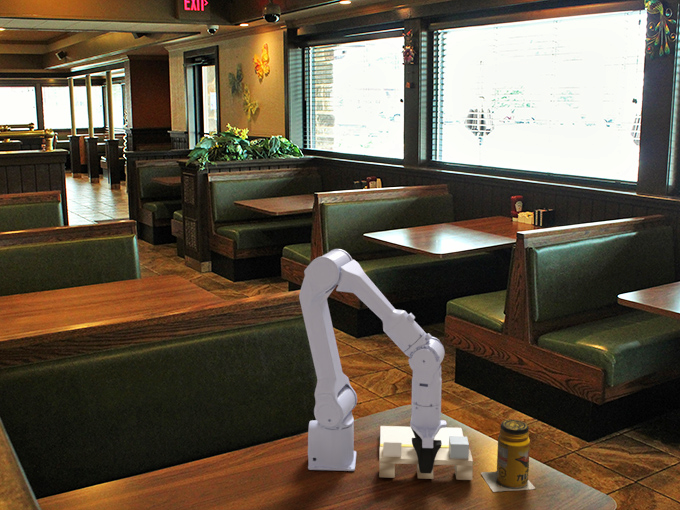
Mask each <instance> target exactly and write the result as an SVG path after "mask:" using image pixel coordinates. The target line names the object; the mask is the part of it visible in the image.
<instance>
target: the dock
mask: <svg viewBox="0 0 680 510" xmlns="http://www.w3.org/2000/svg"><path fill="white" fill-rule="evenodd" d="M379 431H380V434H379V448H380V447H383V441H384V434H387V435H401V447H413V445H412V438H415V436H414V433H413V431H412V429H411V426H403V425H402V426H401V425H400V426H399V425H396V426H395V425H380V430H379ZM463 433H464V432H463V429H462V427H449V426H447V427H446V428H441V429H440V430H439V432H438V433H437V434H436V436H435V438H434V440H441V443H442V445H441V448H449V436H464V434H463Z"/></svg>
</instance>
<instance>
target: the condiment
mask: <svg viewBox="0 0 680 510" xmlns="http://www.w3.org/2000/svg"><path fill="white" fill-rule="evenodd" d="M529 430H530V428H529V426H528V424H527V423H526V422H525V421H523V420H518V419H505V420H503V421H502V422H501V423H500V429H499V434H498V437H497V455H496V457H497V458H496V471H483V472H480V475H481V476H482V477H483V479H484V481H485V482H486V484H487V486H488V487H489V488H490V490H492V492H493V493H499V492H505V491H506V492H508V491H511V492H513V491H516V492H517V491H527V490H535V489H536V487H535V486H534V485H533V483H532V482H531V481H530V480H529V471H530V469H529V468H530V467H529V466H530V450H531V449H530V448H531V447H530V446H531V440H530V437H529Z"/></svg>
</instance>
